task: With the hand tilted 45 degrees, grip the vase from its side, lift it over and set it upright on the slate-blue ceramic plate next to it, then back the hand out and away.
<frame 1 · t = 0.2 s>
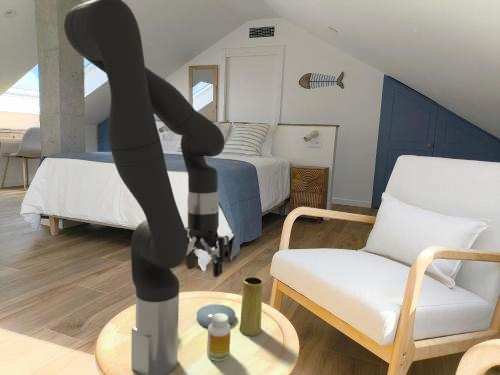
hand: (203, 272, 88), 18 cm above the table, tool pointing down, fingers open, 8 cm apart
supplement bottle: (218, 355, 84), on the table
vase: (250, 330, 96), on the table
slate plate: (215, 318, 101), on the table
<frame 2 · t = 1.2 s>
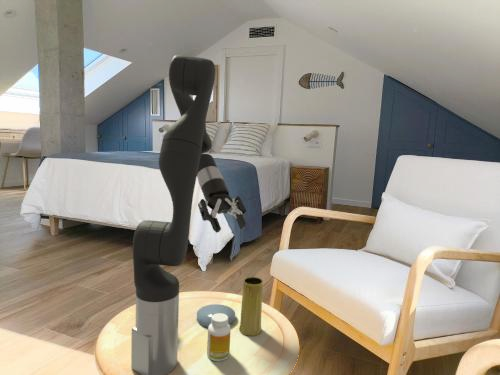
hand: (231, 229, 101), 26 cm above the table, tool tilted 45°, fingers open, 8 cm apart
nothing on the table moved.
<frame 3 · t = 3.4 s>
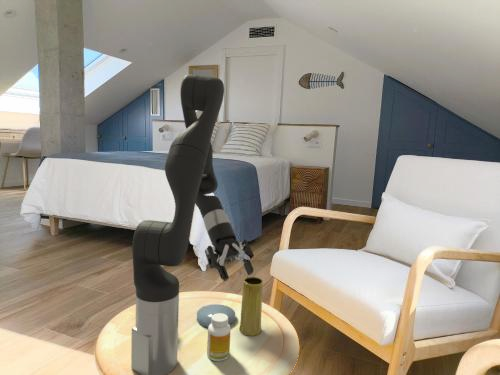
hand: (239, 276, 99), 13 cm above the table, tool tilted 45°, fingers open, 8 cm apart
nothing on the table moved.
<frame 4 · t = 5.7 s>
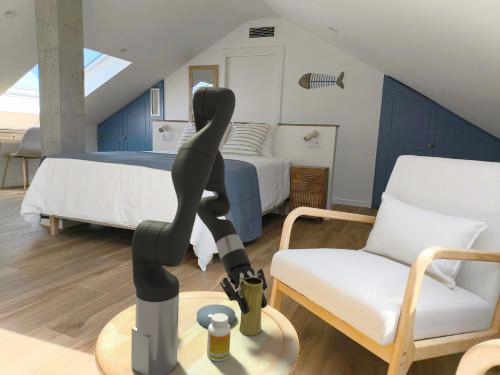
hand: (255, 309, 94), 7 cm above the table, tool tilted 45°, fingers closed on vase, 5 cm apart
vase: (250, 330, 96), on the table, touching gripper
everything else where it was.
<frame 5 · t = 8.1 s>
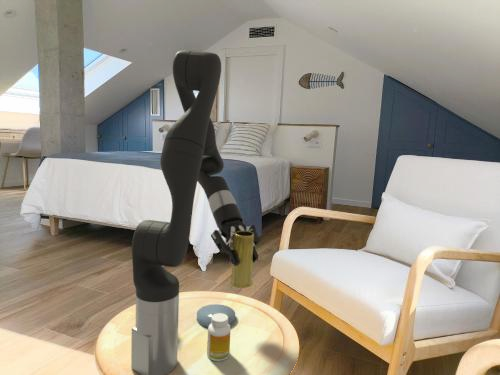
hand: (246, 262, 93), 19 cm above the table, tool tilted 45°, fingers closed on vase, 5 cm apart
vase: (241, 284, 96), point 12 cm above the table, touching gripper
everything else where it was.
when the fingers open (9 cm above the table, at t = 10.8 s): vase drops 1 cm, resting on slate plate.
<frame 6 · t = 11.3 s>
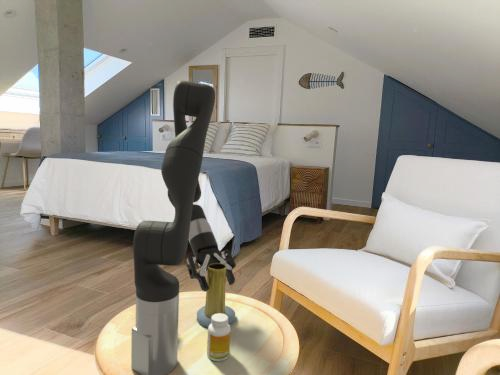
hand: (219, 287, 99), 10 cm above the table, tool tilted 45°, fingers open, 8 cm apart
vase: (214, 314, 101), point 1 cm above the table, touching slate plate
everything else where it was.
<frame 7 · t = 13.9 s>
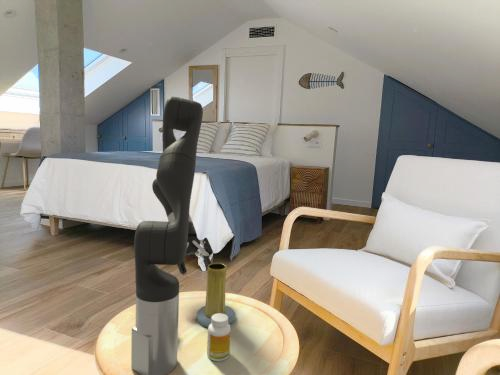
hand: (197, 271, 109), 10 cm above the table, tool tilted 45°, fingers open, 8 cm apart
nothing on the table moved.
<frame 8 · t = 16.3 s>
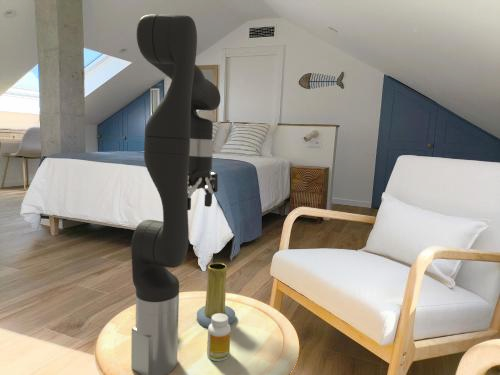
hand: (197, 208, 106), 30 cm above the table, tool pointing down, fingers open, 8 cm apart
nothing on the table moved.
at the end: vase 0.3 cm off-centre on the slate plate, point 1.3 cm above the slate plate's base; vase tilted 0°; the gripper is holding nothing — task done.
